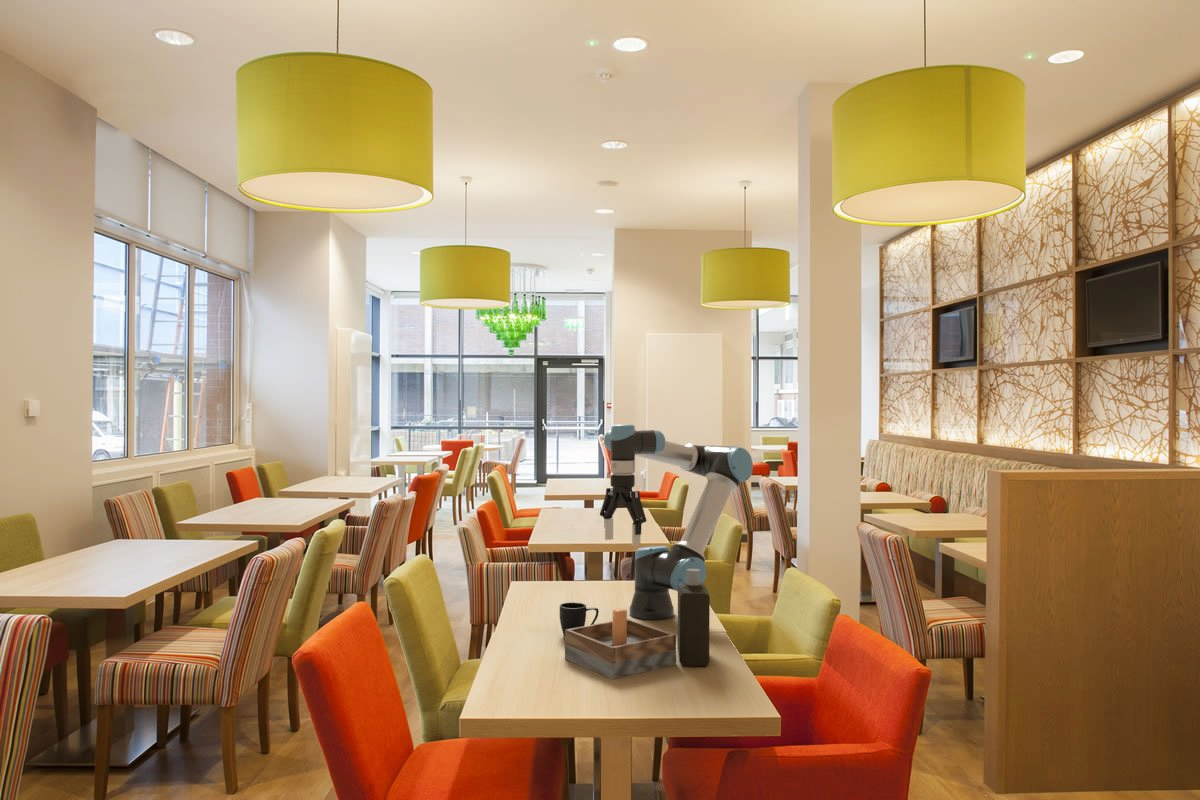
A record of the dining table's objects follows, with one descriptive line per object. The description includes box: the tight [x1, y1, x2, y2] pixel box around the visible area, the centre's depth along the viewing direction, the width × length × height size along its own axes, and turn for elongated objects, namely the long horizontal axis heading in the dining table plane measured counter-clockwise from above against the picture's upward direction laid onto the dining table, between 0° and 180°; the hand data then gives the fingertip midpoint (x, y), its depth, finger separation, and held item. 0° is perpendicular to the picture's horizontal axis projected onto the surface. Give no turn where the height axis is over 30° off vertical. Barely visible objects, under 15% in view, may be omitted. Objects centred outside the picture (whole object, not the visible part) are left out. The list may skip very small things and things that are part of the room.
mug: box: [559, 601, 600, 638], centre depth 253 cm, size 8×12×10 cm
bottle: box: [677, 568, 711, 668], centre depth 231 cm, size 8×16×25 cm, turn 177°
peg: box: [611, 608, 628, 647], centre depth 229 cm, size 4×4×14 cm
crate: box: [564, 618, 677, 680], centre depth 229 cm, size 22×22×8 cm
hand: (622, 542), depth 256 cm, fingers open, 13 cm apart
